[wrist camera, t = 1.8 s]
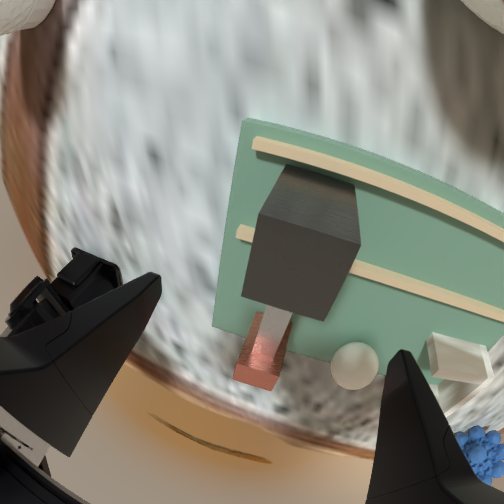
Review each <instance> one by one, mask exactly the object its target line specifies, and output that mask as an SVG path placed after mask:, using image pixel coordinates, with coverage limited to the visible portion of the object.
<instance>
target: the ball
mask: <svg viewBox="0 0 504 504" xmlns="http://www.w3.org/2000/svg"><path fill="white" fill-rule="evenodd" d="M378 368H379V361H378V357H377V354H376V352H375V351H374V350H373V349H372V348H371V347H370V346H369V345H367V344H365V343H362V342H351V343H347V344H345V345H343V346H342V347H340V348H339V349H338V350H337V351H336V353H335V354H334V356H333V358H332V360H331V366H330V369H331V374H332V377H333V379H334V381H335V382H336V383H337V384H338V385H339V386H341V387H343V388H345V389H349V390H357V389H361V388H364V387H366V386H367V385H369V384H370V383H371V382H372V381H373V380H374V378H375V376H376V375H377V372H378Z"/></svg>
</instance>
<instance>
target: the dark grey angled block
mask: <svg viewBox="0 0 504 504" xmlns="http://www.w3.org/2000/svg"><path fill="white" fill-rule="evenodd" d="M360 247H361V236H360V226H359V217H358V208H357V200H356V192H355V185H354V184H351V183H348V182H345V181H342V180H339V179H336V178H333V177H329V176H326V175H323V174H320V173H316V172H313V171H310V170H306V169H303V168H300V167H296V166H293V165H289V164H286V165H285V167H284V169H283V171H282V172H281V174H280V176H279V178H278V179H277V181H276V183H275V185H274V187H273V188H272V190H271V192H270V194H269V195H268V197H267V199H266V201H265V203H264V204H263V206H262V208H261V210H260V212H259V213H258V218H257V223H256V227H255V232H254V237H253V241H252V246H251V251H250V255H249V260H248V265H247V269H246V274H245V279H244V283H243V288H242V293H241V297H244V298H247V299H250V300H253V301H257V302H260V303H263V304H266V309H265V312H264V313H261V312H258V311H256V313H255V316H254V319H253V321H252V324H251V327H250V329H249V332H248V335H247V337H246V340H245V343H244V345H243V348H242V351H241V353H240V356H239V359H238V361H237V364H236V368H235V372H234V375H233V379H234V380H237V381H240V382H243V383H246V384H249V385H252V386H255V387H259V388H262V389H265V390H269V391H272V389H273V387H274V385H275V383H276V381H277V380H278V378H279V375H280V371H281V367H282V363H283V360H284V356H285V352H286V347H287V343H288V339H289V335H290V331H291V327H292V322H290V318H291V316H292V313H295V314H299V315H302V316H305V317H309V318H312V319H316V320H319V321H322V322H324V320H325V318H326V317H327V315H328V313H329V311H330V309H331V307H332V305H333V303H334V301H335V299H336V297H337V295H338V293H339V291H340V289H341V287H342V285H343V283H344V281H345V279H346V277H347V275H348V273H349V271H350V269H351V266H352V264H353V262H354V260H355V258H356V256H357V254H358V251H359V249H360Z"/></svg>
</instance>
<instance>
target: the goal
mask: <svg viewBox="0 0 504 504" xmlns="http://www.w3.org/2000/svg"><path fill="white" fill-rule="evenodd" d="M426 342H427V348H428V355H429V362H430V369H431V377H436V378H442V379H444V380H443V381H442V382H440V383H439V384H438V385H434V384H429V386H430V388H431V390H432V391H433V393H434V395H435V397H436V399H437V401H438V403H439V405H440V407H441V409H442V411H443V413H444V415H445V417H448V416H449V415H450V414H452V413H453V412H455V411H456V410H457V409H459V408H460V407H461V406H463V405H464V404H465V403H466V402H468V401H469V400H470V399H472V398H473V397H474V396H475V395H476V394H478V393H479V392H480V391H481V390H482V389H484V388H485V387H486V386H487V385H488V384H489V383H491V382H492V381H493V380H494V375H493V371H492V367H491V363H490V359H489V355H488V352H487V348H486V346H484V345H480V344H476V343H472V342H468V341H464V340H461V339H457V338H453V337H449V336H445V335H441V334H438V333H434V332H432V333H431V334H430V336H429V337H428V338H427V339H426Z"/></svg>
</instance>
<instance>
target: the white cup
mask: <svg viewBox="0 0 504 504" xmlns="http://www.w3.org/2000/svg"><path fill="white" fill-rule="evenodd" d="M55 1H56V0H0V36H1V35H4V34H9V33H11V32H14V31H18V30H23V29H29V28H35V27H36V26H37V25H38V24H40V23H41V22H42V21H44V19H45V18H46V16H47V15H48V14H49V12H50V11H51V9H52V8H53V5H54V3H55Z"/></svg>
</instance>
